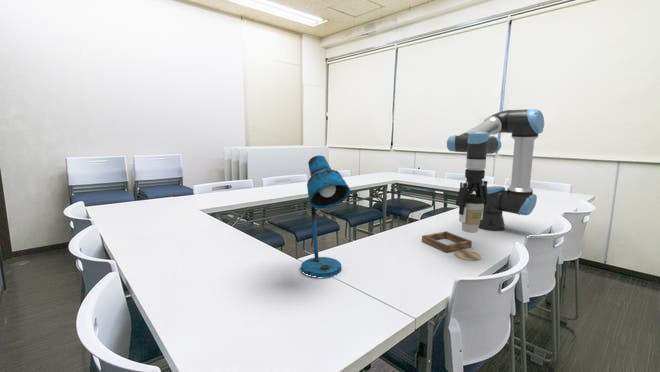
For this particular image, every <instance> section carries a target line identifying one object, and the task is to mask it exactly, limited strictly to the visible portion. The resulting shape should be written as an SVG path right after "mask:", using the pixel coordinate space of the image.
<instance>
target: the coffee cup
mask: <svg viewBox="0 0 660 372" xmlns="http://www.w3.org/2000/svg"><path fill="white" fill-rule="evenodd" d="M484 203H485V200H484V198H483V197H480V196H476V194H471V195H470V197H469V198H468V201H467V204H466V206H465V207H466V220H465V223H463V222H461V231H462V232H464V233H465V232H466V233H470V234H475V233H478V231H479V224H480V220H481V216H482V211H483V205H484Z"/></svg>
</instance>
